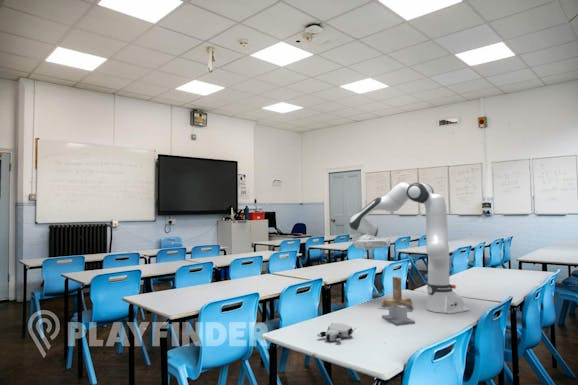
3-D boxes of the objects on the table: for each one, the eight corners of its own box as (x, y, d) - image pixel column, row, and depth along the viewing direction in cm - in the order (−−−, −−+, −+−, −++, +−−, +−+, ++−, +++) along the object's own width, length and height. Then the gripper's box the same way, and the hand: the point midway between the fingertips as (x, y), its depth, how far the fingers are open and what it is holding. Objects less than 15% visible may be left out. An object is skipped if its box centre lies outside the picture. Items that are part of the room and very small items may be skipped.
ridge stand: (399, 316, 202) (398, 300, 202) (414, 323, 189) (414, 307, 189) (381, 317, 199) (381, 302, 200) (396, 325, 186) (395, 308, 186)
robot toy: (340, 347, 160) (357, 335, 172) (339, 337, 160) (356, 325, 172) (315, 341, 167) (333, 330, 179) (315, 331, 167) (333, 320, 179)
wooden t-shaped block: (408, 302, 198) (407, 276, 198) (411, 304, 195) (410, 277, 195) (383, 304, 194) (382, 277, 195) (386, 306, 191) (385, 278, 192)
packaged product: (413, 299, 220) (411, 303, 211) (413, 308, 220) (411, 312, 210) (381, 297, 227) (377, 300, 218) (381, 305, 227) (378, 309, 217)
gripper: (351, 237, 229) (362, 239, 216) (383, 236, 235) (395, 238, 221) (352, 248, 229) (362, 250, 216) (383, 247, 234) (395, 249, 221)
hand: (379, 244), depth 219 cm, fingers open, 8 cm apart
